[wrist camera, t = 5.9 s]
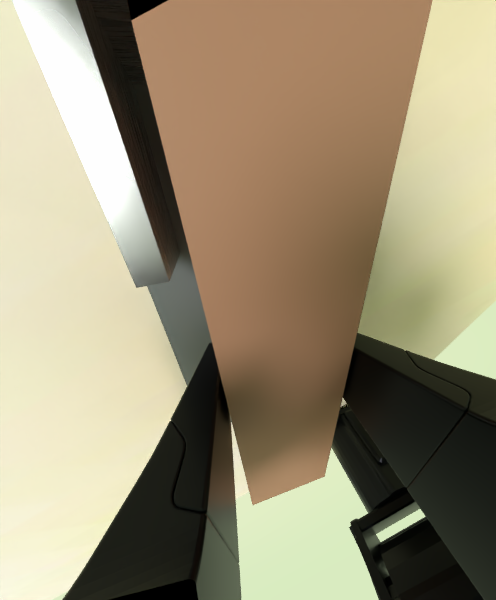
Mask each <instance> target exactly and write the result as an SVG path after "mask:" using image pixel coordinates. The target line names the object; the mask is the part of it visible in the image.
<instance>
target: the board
mask: <svg viewBox="0 0 496 600" xmlns="http://www.w3.org/2000/svg"><path fill="white" fill-rule="evenodd" d="M134 89H135V92H136V96H137V99H138V103H139V107H140V110H141V114H142V117H143V121H144V124H145V128H146V132H147V135H148V139H149V142H150V146H151V149H152V153H153V157H154V160H155V164H156V167H157V171H158V174H159V178H160V181H161V185H162V189H163V192H164V196H165V199H166V203H167V206H168V210H169V214H170V217H171V221H172V224H173V228H174V231H175V235H176V239H177V242H178V246H179V249H180V256H179V258H178V261H177V264H176V266H175V269H174V271H173V274H172V276H171V279H170V281H169V282H165V283H160V284H154V285H149V286H147V287H148V289H149V292H150V294H151V297H152V299H153V301H154V304H155V306H156V309H157V311H158V314H159V316H160V319H161V321H162V324H163V326H164V329H165V331H166V334H167V336H168V339H169V341H170V344H171V346H172V349H173V351H174V354H175V356H176V359H177V361H178V364H179V366H180V369H181V371H182V374H183V376H184V379H185V381H186V384H187V386H188V384H189V382H190V380H191V378H192V376H193V374H194V372H195V370H196V368H197V366H198V364H199V362H200V360H201V358H202V356H203V354H204V352H205V350H206V348H207V346H208V344H209V343H212V340H211V336H210V332H209V328H208V324H207V320H206V316H205V312H204V308H203V304H202V300H201V297H200V293H199V289H198V285H197V281H196V277H195V273H194V269H193V265H192V261H191V257H190V253H189V249H188V245H187V241H186V237H185V233H184V229H183V225H182V221H181V217H180V213H179V209H178V205H177V201H176V197H175V193H174V189H173V185H172V181H171V177H170V173H169V169H168V165H167V161H166V157H165V153H164V149H163V145H162V141H161V137H160V133H159V129H158V125H157V121H156V117H155V113H154V109H153V105H152V101H151V97H150V93H149V89H148V85H134ZM230 417H231V416H230ZM231 422H232V420H231Z"/></svg>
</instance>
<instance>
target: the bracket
mask: <svg viewBox="0 0 496 600" xmlns="http://www.w3.org/2000/svg"><path fill="white" fill-rule="evenodd" d="M12 2H13V4H14V6H15V8H16V11H17V13H18V15H19V18H20V20H21V22H22V25H23V27H24V29H25V32H26V34H27V36H28V38H29V41H30V43H31V45H32V48H33V50H34V52H35V55H36V57H37V59H38V62H39V64H40V66H41V68H42V71H43V73H44V75H45V78H46V80H47V82H48V85H49V87H50V89H51V92H52V94H53V96H54V98H55V101H56V103H57V105H58V108H59V110H60V112H61V115H62V117H63V119H64V122H65V124H66V126H67V128H68V131H69V133H70V135H71V138H72V140H73V142H74V145H75V147H76V149H77V152H78V154H79V156H80V158H81V161H82V163H83V165H84V168H85V170H86V172H87V175H88V177H89V179H90V182H91V184H92V186H93V188H94V191H95V193H96V195H97V198H98V200H99V202H100V205H101V207H102V209H103V212H104V214H105V216H106V218H107V221H108V223H109V225H110V228H111V230H112V232H113V235H114V237H115V239H116V242H117V244H118V246H119V248H120V251H121V253H122V255H123V258H124V260H125V262H126V265H127V267H128V269H129V272H130V274H131V276H132V278H133V281H134V283H135V285H136V288H137V287H143V286H149V285H154V284H160V283H165V282H169V281H170V279H171V276H172V274H173V271H174V269H175V266H176V264H177V261H178V258H179V256H180V249H179V246H178V242H177V239H176V235H175V231H174V228H173V224H172V221H171V217H170V214H169V210H168V206H167V203H166V199H165V196H164V192H163V189H162V185H161V181H160V178H159V174H158V171H157V167H156V164H155V160H154V157H153V153H152V149H151V146H150V142H149V139H148V135H147V132H146V128H145V124H144V121H143V117H142V114H141V110H140V107H139V103H138V99H137V96H136V92H135V89H134V85H147V81H146V77H145V73H144V69H143V65H142V61H141V57H140V53H139V49H138V45H137V41H136V37H135V33H134V29H133V25H132V21H131V17H130V12H129V7H128V2H127V0H12Z"/></svg>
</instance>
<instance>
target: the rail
mask: <svg viewBox="0 0 496 600" xmlns="http://www.w3.org/2000/svg"><path fill="white" fill-rule="evenodd" d="M127 2H128V7H129V12H130V17H131V21H132V25H133V29H134V33H135V37H136V41H137V45H138V49H139V53H140V57H141V61H142V65H143V69H144V73H145V77H146V81H147V85H148V89H149V93H150V97H151V101H152V105H153V109H154V113H155V117H156V121H157V125H158V129H159V133H160V137H161V141H162V145H163V149H164V153H165V157H166V161H167V165H168V169H169V173H170V177H171V181H172V185H173V189H174V193H175V197H176V201H177V205H178V209H179V213H180V217H181V221H182V225H183V229H184V233H185V237H186V241H187V245H188V249H189V253H190V257H191V261H192V265H193V269H194V273H195V277H196V281H197V285H198V289H199V293H200V297H201V300H202V304H203V308H204V312H205V316H206V320H207V324H208V328H209V332H210V336H211V340H212V344H213V348H214V352H215V356H216V360H217V364H218V368H219V372H220V376H221V380H222V384H223V388H224V392H225V396H226V400H227V404H228V408H229V412H230V416H231V420H232V424H233V428H234V432H235V436H236V440H237V444H238V448H239V452H240V456H241V460H242V464H243V468H244V472H245V476H246V480H247V484H248V488H249V492H250V495H251V500H252V504H253V505H254V504H257V503H259V502H262V501H264V500H267V499H269V498H272V497H274V496H277V495H279V494H282V493H284V492H287V491H289V490H292V489H294V488H297V487H299V486H302V485H304V484H307V483H309V482H312V481H314V480H317V479H319V478H322V477H324V476H325V472H326V467H327V463H328V459H329V455H330V450H331V446H332V441H333V437H334V432H335V428H336V424H337V419H338V415H339V410H340V406H341V402H342V397H343V393H344V388H345V384H346V379H347V375H348V371H349V366H350V362H351V357H352V353H353V349H354V344H355V340H356V335H357V331H358V327H359V322H360V318H361V313H362V309H363V304H364V300H365V296H366V291H367V287H368V282H369V278H370V274H371V269H372V265H373V260H374V256H375V251H376V247H377V243H378V238H379V234H380V229H381V225H382V221H383V216H384V212H385V207H386V203H387V199H388V194H389V190H390V185H391V181H392V176H393V172H394V168H395V163H396V159H397V154H398V150H399V146H400V141H401V137H402V132H403V128H404V123H405V119H406V115H407V110H408V106H409V101H410V97H411V93H412V88H413V84H414V79H415V75H416V71H417V66H418V62H419V57H420V53H421V48H422V44H423V40H424V35H425V31H426V26H427V22H428V18H429V13H430V9H431V4H432V0H127Z"/></svg>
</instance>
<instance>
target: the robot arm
mask: <svg viewBox="0 0 496 600" xmlns="http://www.w3.org/2000/svg"><path fill="white" fill-rule="evenodd" d="M343 398H344V400H345V401H346V403H347V404H348V405H349V407H346V408H344V409H341V410H339V415H338V419H337V424H336V428H335V432H334V437H333V441H332V446H331V448H332V449H333V451H334V453H335V454H336V456H337V458H338V459H339V462H340V463H341V465H342V467H343V469H344V470H345V472H346V474H347V476H348V478H349V479H350V481H351V483H352V485H353V486H354V488H355V490H356V492H357V494H358V495H359V497H360V499H361V501H362V502H363V504H364V506H365V508H366V510H367V512H368V514H367V515H365V516H363V517H362V518H360V519H354V520H353V521H351V522H350V523H351V526H350V527H349V528H350V530H351V532H352V534H353V536H354V538H355V540H356V543H357V544H358V547H359V549H360V551H361V553H362V556H363V558H364V561H365V563H366V565H367V568H368V571H369V573H370V576H371V579H372V582H373V585H374V587H375V590H376V593H377V595H378V598H379V600H496V380H495V379H492V378H489V377H485V376H482V375H479V374H476V373H473V372H469V371H466V370H462V369H459V368H457V367H453V366H450V365H447V364H444V363H441V362H438V361H435V360H432V359H429V358H426V357H423V356H420V355H417V354H415V353H412V352H409V351H404V350H403V349H401V348H398V347H395V346H392V345H390V344H387V343H384V342H381V341H378V340H376V339H373V338H370V337H367V336H364V335H362V334H359V333H357V335H356V340H355V344H354V349H353V353H352V357H351V362H350V366H349V371H348V375H347V379H346V384H345V388H344V393H343ZM418 509H421V510H422V511H423V513H424V514H425V516H426V517H424V518H423V519H421V520H419V521H417V522H416V523H414V524H412V525H410V526H409V527H407V528H405V529H403V530H402V531H400V532H398V533H396V534H395V535H393V536H391V537H389V538H388V539H386V540H384V541H382V542H380V541H379V539H378V537H377V536H376V534H377V533H379V532H380V531H382V530H384V529H385V528H387V527H389V526H391V525H392V524H394V523H396V522H397V521H399V520H401V519H403V518H405V517H406V516H408V515H410V514H411V513H413V512H415V511H416V510H418ZM238 563H239V554H238V536H237V519H236V502H235V485H234V468H233V451H232V434H231V417H230V412H229V408H228V404H227V400H226V396H225V392H224V388H223V384H222V380H221V376H220V372H219V368H218V364H217V360H216V356H215V352H214V348H213V344H212V343H209V344H208V346H207V348H206V350H205V352H204V354H203V356H202V358H201V360H200V362H199V364H198V366H197V368H196V370H195V372H194V374H193V376H192V378H191V380H190V382H189V384H188V386H187V388H186V390H185V392H184V394H183V396H182V398H181V400H180V402H179V404H178V406H177V408H176V410H175V412H174V414H173V416H172V418H171V421H170V422H169V424H168V426H167V428H166V430H165V432H164V434H163V436H162V437H161V439H160V441H159V443H158V445H157V447H156V449H155V451H154V453H153V454H152V456H151V458H150V460H149V461H148V463H147V465H146V467H145V468H144V470H143V472H142V473H141V475H140V477H139V478H138V480H137V482H136V484H135V485H134V487H133V488H132V490H131V492H130V493H129V495H128V497H127V498H126V500H125V502H124V503H123V505H122V507H121V508H120V510H119V512H118V513H117V515H116V517H115V518H114V520H113V521H112V523H111V525H110V526H109V528H108V530H107V531H106V533H105V535H104V536H103V538H102V540H101V541H100V543H99V545H98V546H97V548H96V549H95V551H94V553H93V554H92V556H91V558H90V559H89V561H88V563H87V564H86V566H85V567H84V569H83V570H82V572H81V574H80V575H79V577H78V578H77V579H76V581H75V582H74V584H73V585H72V587H71V588H70V590H69V591H68V593H67V594H66V595H65V597H64V598H63V600H241V586H240V570H239V564H238Z"/></svg>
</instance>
